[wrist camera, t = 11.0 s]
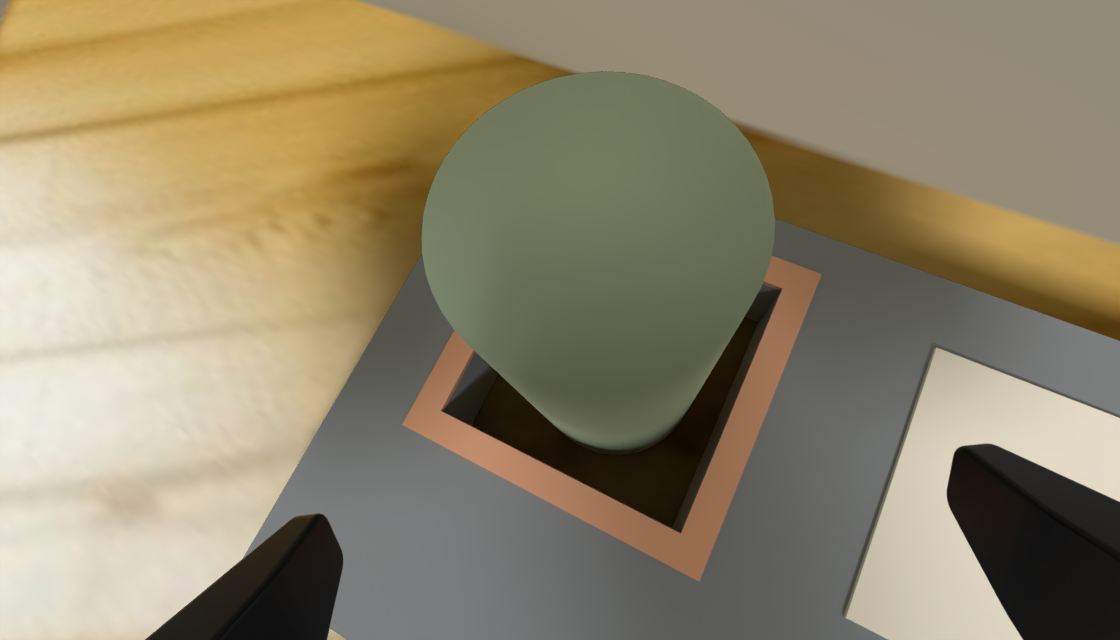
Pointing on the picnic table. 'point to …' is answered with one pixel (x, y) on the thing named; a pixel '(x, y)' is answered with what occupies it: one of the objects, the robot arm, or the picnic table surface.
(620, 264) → the post
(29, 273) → the picnic table surface
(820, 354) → the slotted grey base
